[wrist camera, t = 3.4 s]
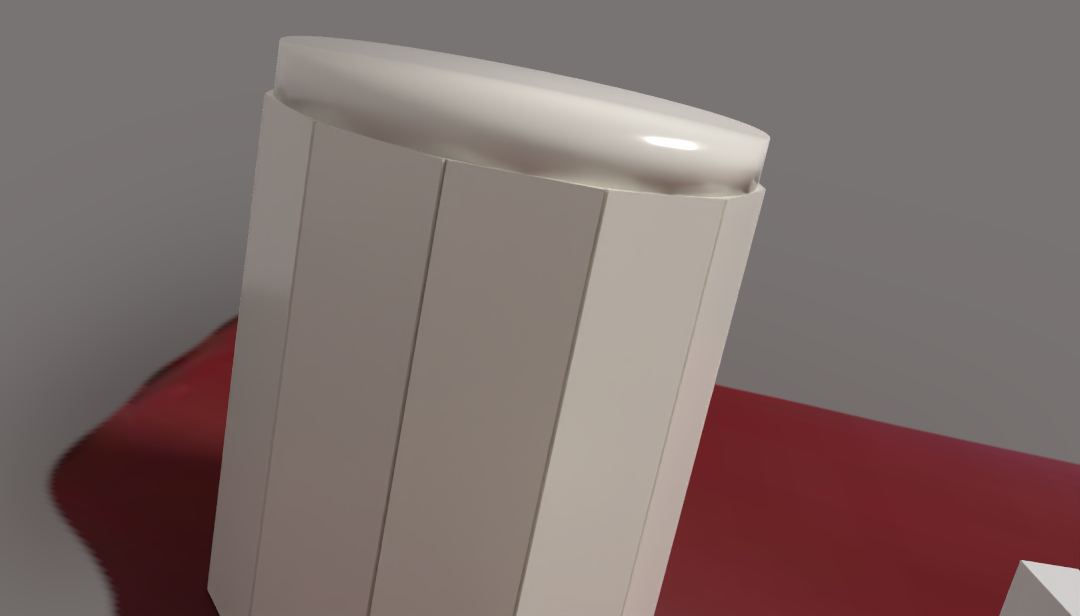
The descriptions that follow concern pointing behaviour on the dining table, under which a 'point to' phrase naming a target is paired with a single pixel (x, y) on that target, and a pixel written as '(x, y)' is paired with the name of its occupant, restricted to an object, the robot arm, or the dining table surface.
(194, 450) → the dining table surface
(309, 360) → the white rounded cylinder
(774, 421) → the dining table surface
